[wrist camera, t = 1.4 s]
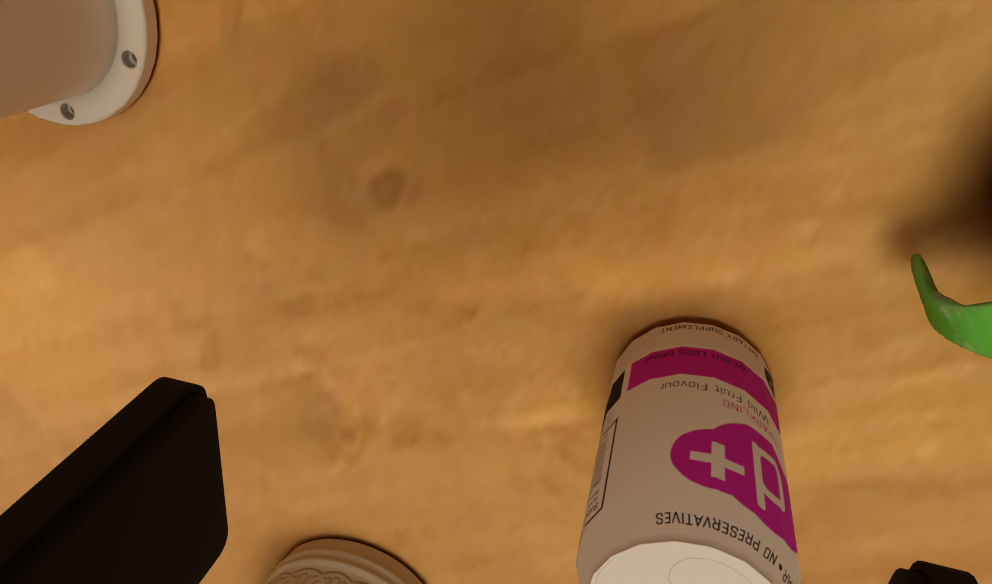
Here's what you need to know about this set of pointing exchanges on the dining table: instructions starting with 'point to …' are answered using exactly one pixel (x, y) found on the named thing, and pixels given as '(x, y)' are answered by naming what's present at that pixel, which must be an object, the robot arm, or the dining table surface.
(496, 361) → the dining table surface
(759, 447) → the supplement can
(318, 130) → the dining table surface
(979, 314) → the snack cup
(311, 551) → the jar
